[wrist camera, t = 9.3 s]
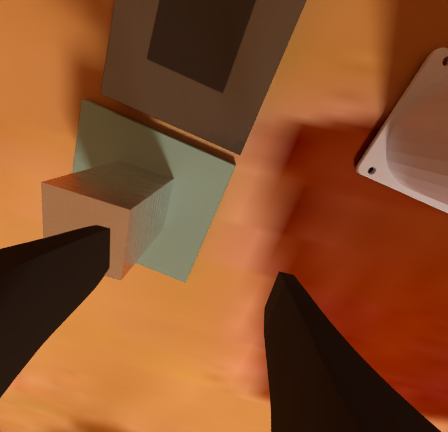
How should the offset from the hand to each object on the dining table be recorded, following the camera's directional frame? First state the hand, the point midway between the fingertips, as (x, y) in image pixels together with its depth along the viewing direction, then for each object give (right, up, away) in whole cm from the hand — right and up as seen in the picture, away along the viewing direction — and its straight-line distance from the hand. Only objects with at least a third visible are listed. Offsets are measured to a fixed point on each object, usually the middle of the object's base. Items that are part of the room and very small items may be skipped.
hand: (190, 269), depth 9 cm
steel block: (-5, +4, +9) cm, 11 cm away
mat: (-5, +3, +10) cm, 12 cm away
